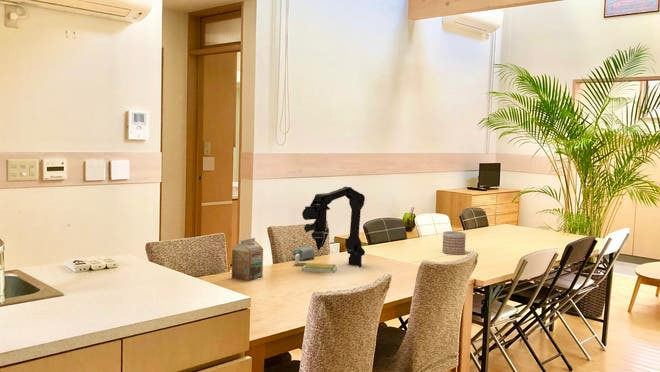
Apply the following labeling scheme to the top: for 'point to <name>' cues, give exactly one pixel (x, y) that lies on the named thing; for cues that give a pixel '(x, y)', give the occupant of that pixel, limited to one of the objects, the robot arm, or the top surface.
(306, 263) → the holder board
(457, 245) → the planter
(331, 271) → the tray
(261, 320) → the top surface
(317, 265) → the yellow cylinder
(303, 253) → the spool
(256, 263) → the milk carton
